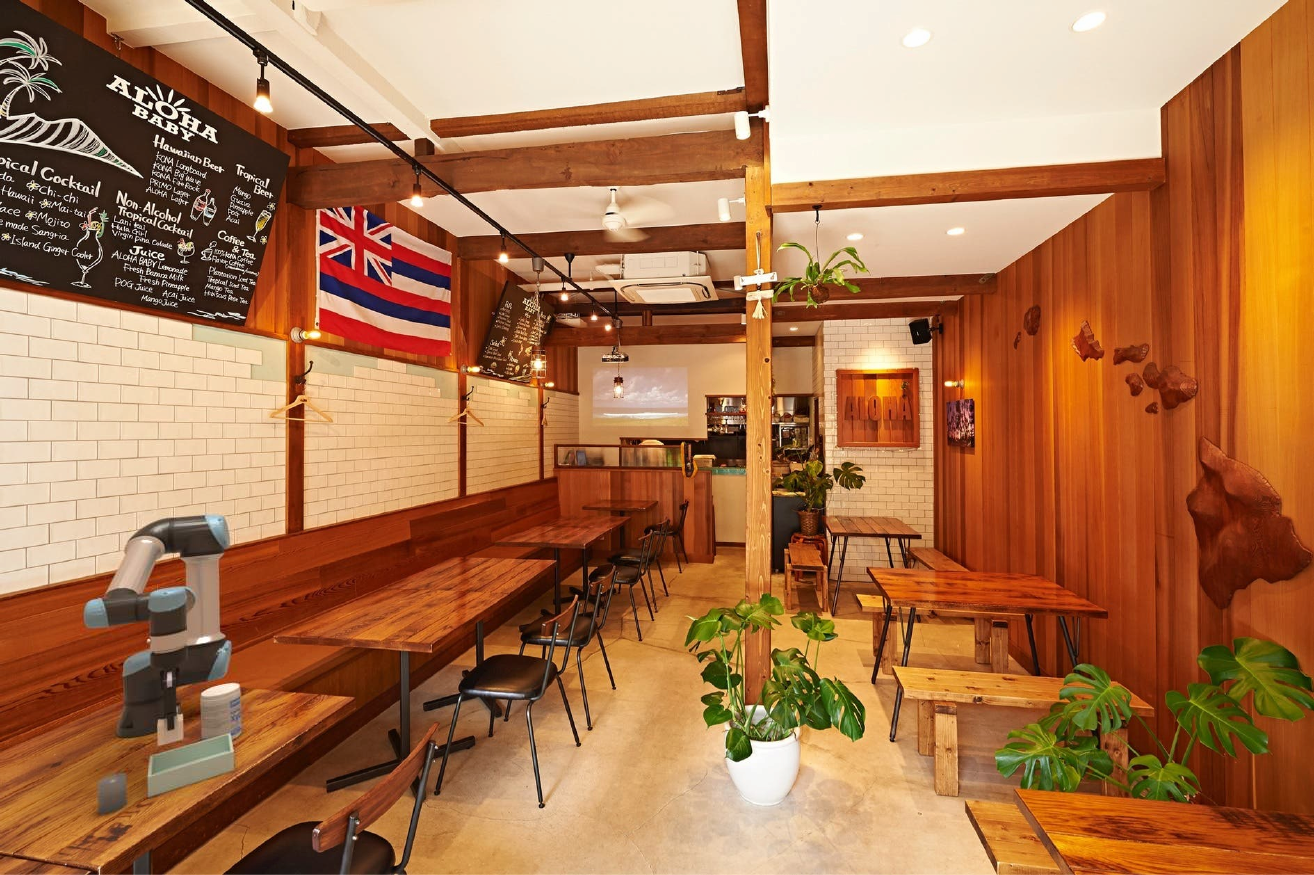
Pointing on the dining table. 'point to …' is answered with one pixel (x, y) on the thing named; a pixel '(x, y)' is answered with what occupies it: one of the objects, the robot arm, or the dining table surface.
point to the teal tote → (190, 764)
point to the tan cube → (161, 730)
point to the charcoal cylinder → (112, 793)
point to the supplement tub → (221, 711)
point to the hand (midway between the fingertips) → (171, 737)
